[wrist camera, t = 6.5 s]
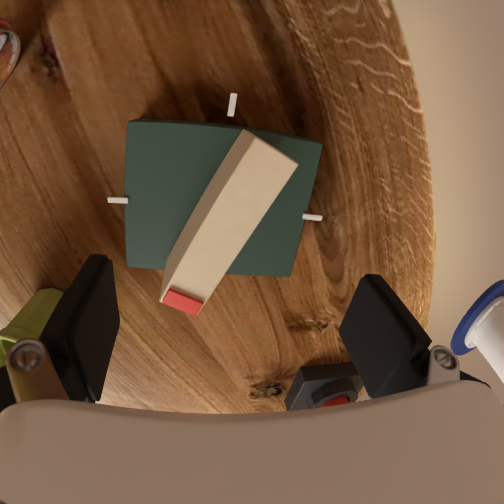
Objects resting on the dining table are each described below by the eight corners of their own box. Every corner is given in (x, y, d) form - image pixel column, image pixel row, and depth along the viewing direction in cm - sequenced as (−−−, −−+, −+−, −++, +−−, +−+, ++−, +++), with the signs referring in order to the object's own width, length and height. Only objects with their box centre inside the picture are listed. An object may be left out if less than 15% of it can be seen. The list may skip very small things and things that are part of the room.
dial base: (327, 114, 18) (346, 117, 16) (287, 278, 25) (297, 301, 22) (127, 89, 15) (113, 87, 13) (123, 268, 22) (114, 291, 19)
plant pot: (87, 354, 27) (70, 418, 19) (19, 316, 23) (-11, 373, 15) (111, 303, 24) (88, 378, 16) (29, 255, 20) (-18, 316, 12)
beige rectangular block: (243, 128, 15) (256, 137, 11) (276, 149, 16) (301, 165, 12) (166, 260, 19) (158, 304, 15) (197, 273, 20) (196, 319, 16)
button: (350, 393, 32) (355, 404, 30) (340, 407, 33) (344, 417, 32) (326, 397, 31) (330, 408, 29) (317, 411, 32) (320, 422, 31)
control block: (367, 360, 34) (379, 382, 31) (345, 393, 38) (354, 413, 35) (300, 367, 32) (309, 393, 29) (284, 400, 36) (290, 424, 32)
